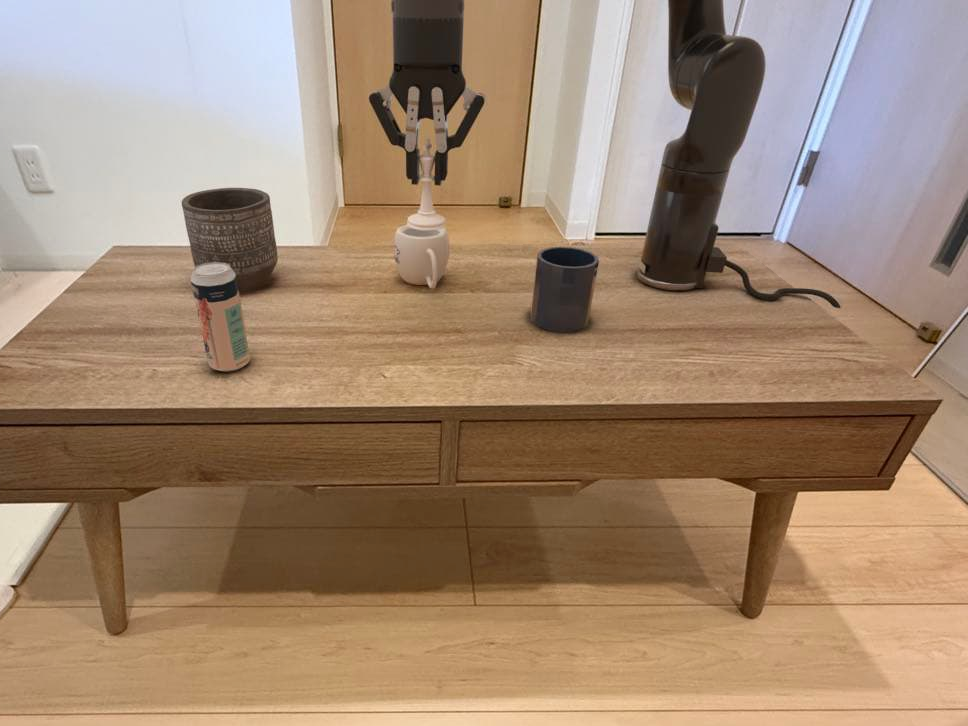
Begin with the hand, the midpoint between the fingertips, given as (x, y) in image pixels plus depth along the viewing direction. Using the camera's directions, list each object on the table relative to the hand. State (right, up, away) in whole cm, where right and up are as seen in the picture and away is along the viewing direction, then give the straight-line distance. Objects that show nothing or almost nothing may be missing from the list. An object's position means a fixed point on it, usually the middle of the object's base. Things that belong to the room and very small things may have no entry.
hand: (426, 182), depth 74 cm
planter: (-29, -8, +20) cm, 36 cm away
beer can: (-24, -22, -1) cm, 32 cm away
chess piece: (0, -4, +3) cm, 5 cm away
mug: (0, -8, +21) cm, 22 cm away
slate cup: (+18, -15, +11) cm, 26 cm away
